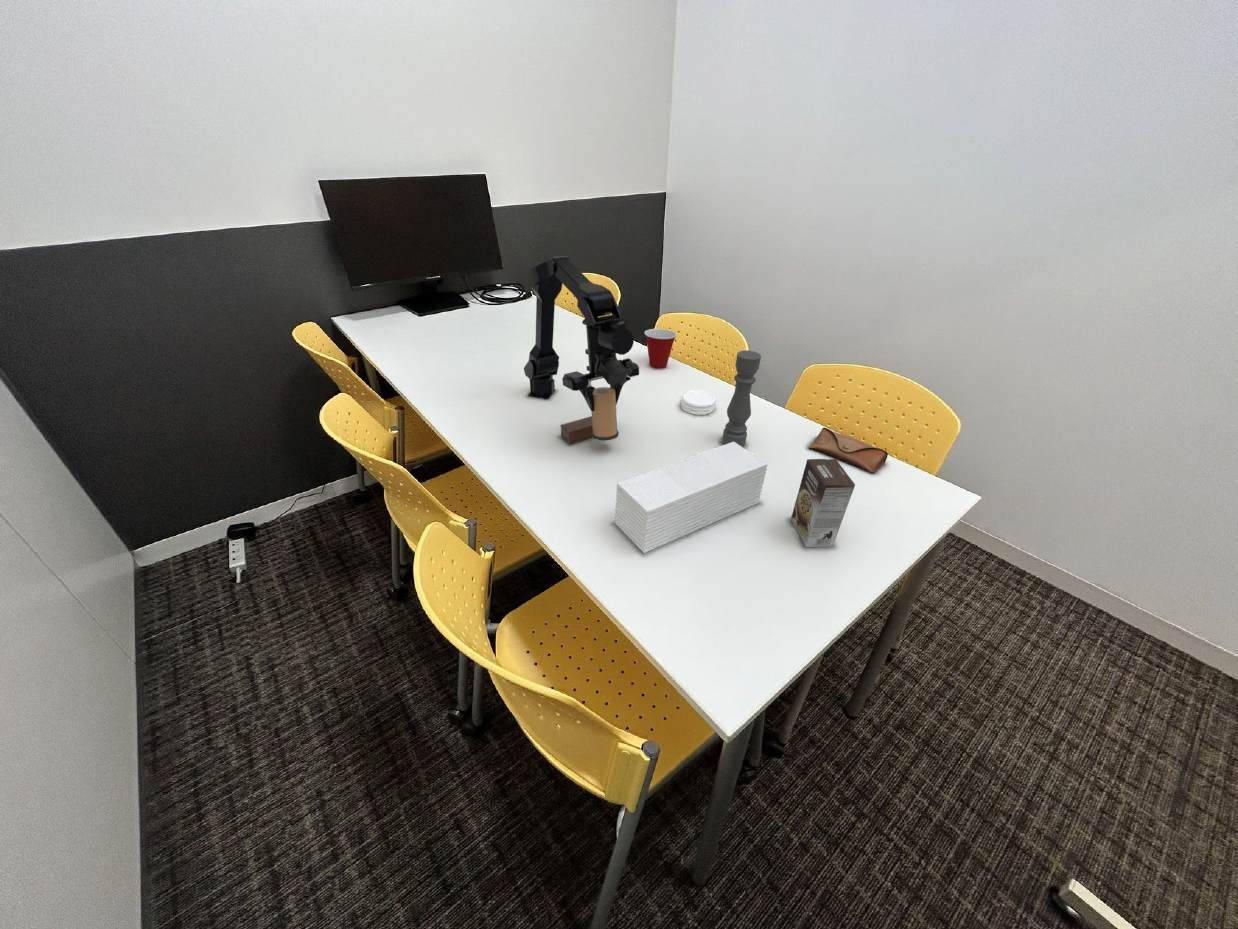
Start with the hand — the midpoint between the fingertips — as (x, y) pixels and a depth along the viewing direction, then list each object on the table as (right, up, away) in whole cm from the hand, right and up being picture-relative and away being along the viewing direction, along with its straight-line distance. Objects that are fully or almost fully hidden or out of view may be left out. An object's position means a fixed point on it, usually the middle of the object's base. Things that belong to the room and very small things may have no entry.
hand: (603, 407), depth 132 cm
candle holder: (+35, -8, +10) cm, 37 cm away
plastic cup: (+17, +20, +51) cm, 57 cm away
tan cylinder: (-2, -4, +6) cm, 8 cm away
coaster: (+27, +3, +26) cm, 38 cm away
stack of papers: (+19, -25, -15) cm, 35 cm away
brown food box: (+45, -29, -19) cm, 56 cm away
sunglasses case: (+63, -12, +7) cm, 65 cm away
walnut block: (-5, -6, +12) cm, 14 cm away
